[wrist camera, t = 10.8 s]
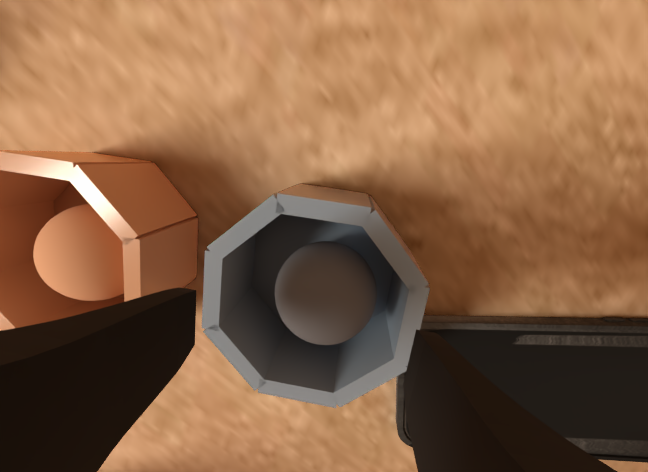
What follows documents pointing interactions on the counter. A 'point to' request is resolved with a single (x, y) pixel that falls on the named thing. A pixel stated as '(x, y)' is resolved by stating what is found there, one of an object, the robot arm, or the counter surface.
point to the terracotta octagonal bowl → (113, 207)
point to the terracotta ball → (80, 255)
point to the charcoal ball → (325, 293)
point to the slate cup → (261, 311)
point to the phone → (560, 375)
